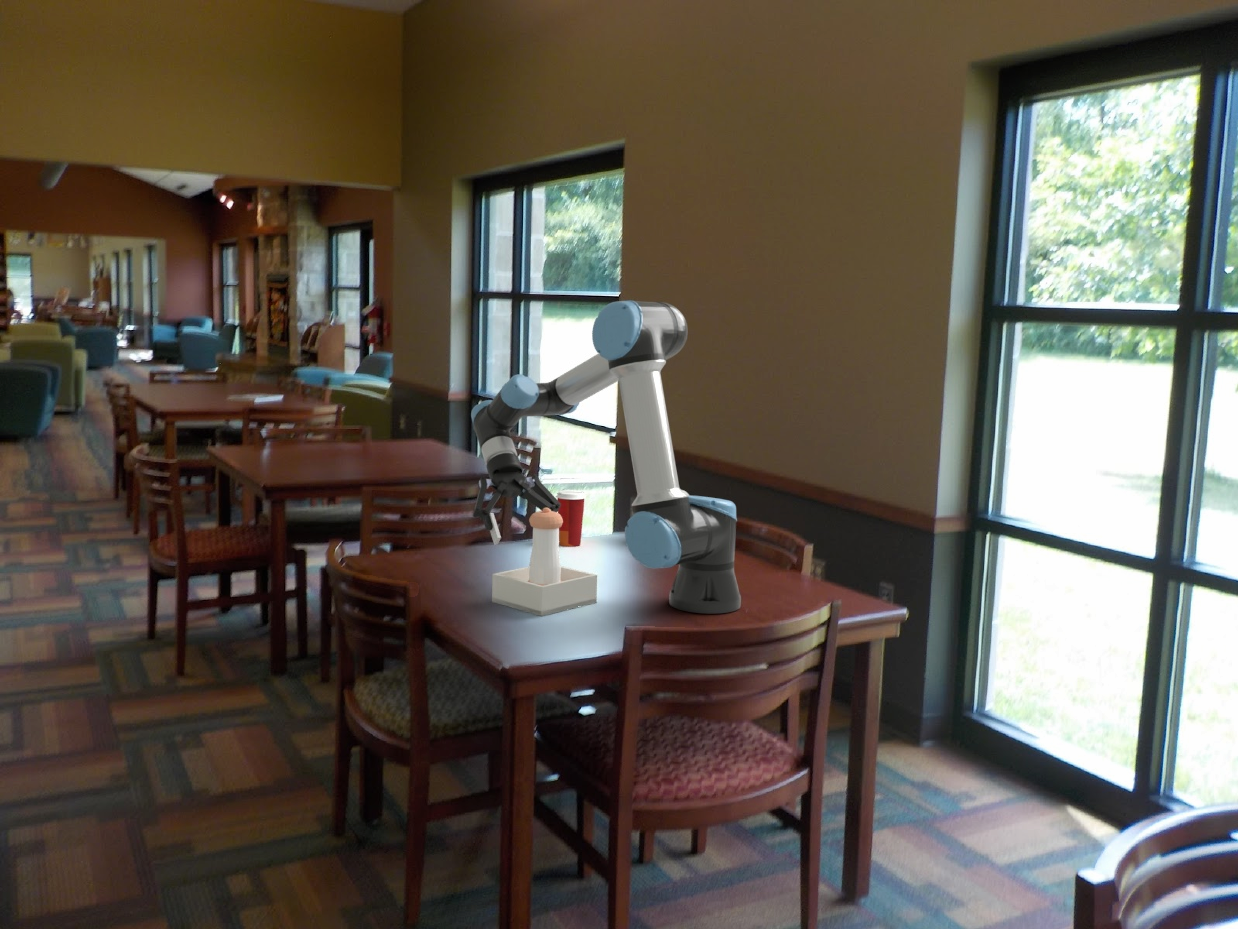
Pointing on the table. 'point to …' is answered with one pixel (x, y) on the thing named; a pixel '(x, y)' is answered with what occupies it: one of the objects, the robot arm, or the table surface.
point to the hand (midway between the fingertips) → (527, 539)
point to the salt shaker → (545, 548)
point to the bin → (544, 591)
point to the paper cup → (571, 517)
